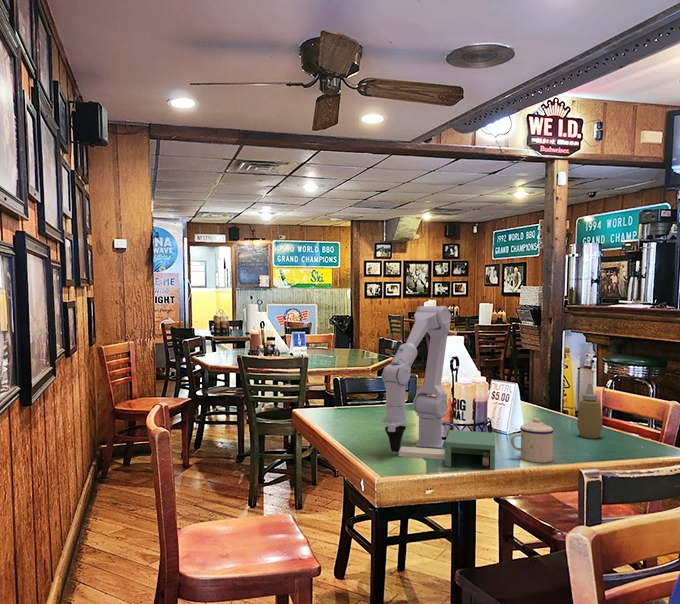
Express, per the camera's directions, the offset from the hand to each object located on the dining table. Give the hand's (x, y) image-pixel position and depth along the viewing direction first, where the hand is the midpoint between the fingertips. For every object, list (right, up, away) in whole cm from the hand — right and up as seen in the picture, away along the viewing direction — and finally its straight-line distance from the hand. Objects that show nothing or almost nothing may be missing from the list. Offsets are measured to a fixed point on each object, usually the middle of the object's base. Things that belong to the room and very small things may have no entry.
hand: (395, 451), depth 163 cm
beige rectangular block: (+8, -2, -1) cm, 9 cm away
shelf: (+21, -1, -5) cm, 22 cm away
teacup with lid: (+39, -2, -3) cm, 39 cm away
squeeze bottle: (+69, -2, +25) cm, 73 cm away
